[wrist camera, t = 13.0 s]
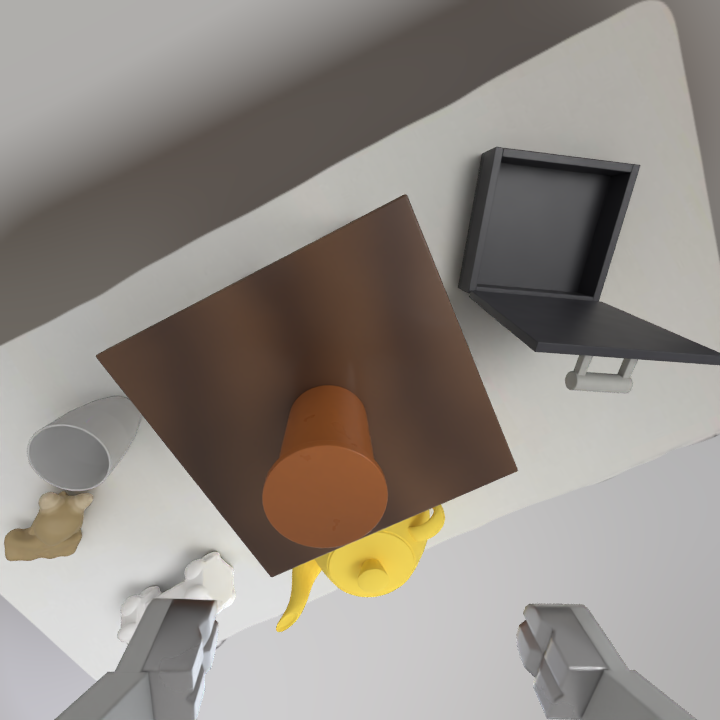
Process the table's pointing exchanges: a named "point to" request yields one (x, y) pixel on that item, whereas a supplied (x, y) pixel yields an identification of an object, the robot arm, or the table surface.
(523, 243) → the hinged lid box
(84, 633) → the table surface
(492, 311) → the lid
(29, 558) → the tan lumpy rounded piece
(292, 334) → the shelf top
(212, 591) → the bone shaped toy
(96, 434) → the cup
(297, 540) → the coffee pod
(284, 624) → the teapot
